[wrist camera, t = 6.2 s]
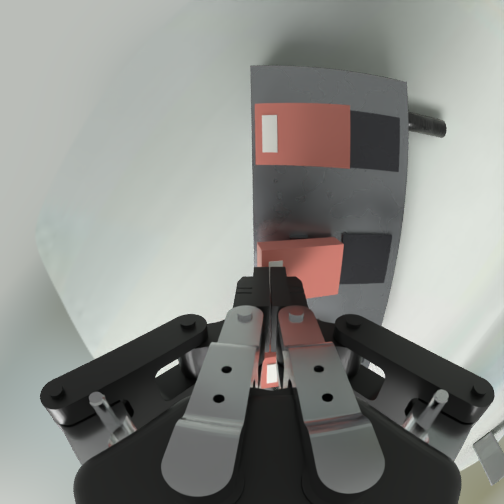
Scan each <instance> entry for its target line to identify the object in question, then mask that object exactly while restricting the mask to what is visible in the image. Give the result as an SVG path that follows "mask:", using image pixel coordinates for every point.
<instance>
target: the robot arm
mask: <svg viewBox="0 0 504 504" xmlns="http://www.w3.org/2000/svg"><path fill="white" fill-rule="evenodd" d="M270 332H271V352H276V371H277V378H278V384H279V390H272V391H271V390H265V389H260V387H261V379H262V371H263V361H264V359H265V352H269V345H270ZM362 358H364V359H366V360H368V361H369V362H371V363H373V364H375V365H376V366H378V367H380V368H381V369H382V370H383V371H384V373H385V378H383V377H381V376H380V375H378V374H376V373H375V372H373V371H371V370H370V369H368V368H366V367H365V366H363V365H362V364H361V361H362ZM176 359H178V361H179V364H178V365H176V366H174V367H173V368H171V369H170V370H168V371H166V372H165V373H163V374H161V375H160V376H158V377H156V378H155V376H156V374H157V372H158V371H159V370H160V369H161V368H163V367H164V366H166V365H168V364H169V363H171V362H173V361H174V360H176ZM40 399H41V402H42V404H43V406H44V407H45V408H46V409H47V411H48V412H49V413H50V415H51V416H52V418H53V420H54V421H55V422H56V424H57V425H58V426H59V427H60V429H61V430H62V431H63V432H64V434H65V436H66V437H67V439H68V441H69V443H70V445H71V447H72V449H73V451H74V453H75V454H76V456H77V458H78V460H79V461H80V463H81V464H82V466H81V467H80V469H79V470H78V472H77V474H76V477H75V481H74V497H75V502H76V504H458V500H459V496H460V491H461V475H460V472H459V469H458V467H457V465H456V464H455V463H454V460H455V459H456V457H457V455H458V453H459V451H460V450H461V448H462V446H463V444H464V442H465V440H466V438H467V436H468V434H469V432H470V429H471V428H472V427H473V426H474V425H475V423H476V422H477V421H478V420H479V418H480V417H481V416H482V415H483V413H484V412H485V411H486V410H487V408H488V407H489V406H490V404H491V403H492V402H493V400H494V390H493V387H492V386H491V384H490V383H489V382H488V381H487V380H485V379H483V378H481V377H479V376H477V375H475V374H474V373H472V372H470V371H468V370H466V369H464V368H462V367H460V366H458V365H456V364H454V363H452V362H450V361H448V360H446V359H444V358H442V357H440V356H438V355H436V354H434V353H432V352H430V351H428V350H426V349H424V348H423V347H421V346H419V345H417V344H415V343H413V342H411V341H409V340H407V339H405V338H403V337H401V336H399V335H397V334H395V333H393V332H391V331H389V330H388V329H386V328H384V327H382V326H380V325H378V324H376V323H374V322H372V321H370V320H368V319H366V318H364V317H362V316H360V315H356V314H345V315H342V316H340V317H338V318H337V319H336V321H335V323H329V322H324V321H321V320H318V319H316V317H315V315H314V313H313V311H312V310H310V309H309V308H308V304H307V300H306V296H305V293H304V288H303V284H302V281H301V280H300V279H298V278H297V277H296V276H288V277H287V274H286V268H285V267H270V281H269V267H254V273H253V277H242V278H241V279H240V280H239V281H238V283H237V289H236V294H235V299H234V305H233V308H232V309H231V310H230V311H229V312H228V313H227V315H226V318H225V320H223V321H220V322H216V323H210V324H207V322H206V320H205V319H204V318H203V317H202V316H199V315H195V314H187V315H182V316H179V317H177V318H175V319H173V320H171V321H169V322H167V323H165V324H163V325H162V326H160V327H158V328H156V329H154V330H152V331H150V332H148V333H146V334H144V335H142V336H140V337H138V338H136V339H134V340H132V341H130V342H128V343H127V344H125V345H123V346H121V347H119V348H117V349H115V350H113V351H111V352H109V353H107V354H105V355H103V356H101V357H99V358H97V359H95V360H93V361H91V362H89V363H87V364H84V365H82V366H80V367H78V368H76V369H74V370H72V371H70V372H68V373H66V374H64V375H62V376H60V377H58V378H56V379H53V380H52V381H50V382H48V383H47V384H46V385H45V386H44V387H43V389H42V391H41V394H40Z"/></svg>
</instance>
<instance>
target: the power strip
mask: <svg viewBox="0 0 504 504" xmlns="http://www.w3.org/2000/svg"><path fill="white" fill-rule="evenodd" d="M261 103H322V104H340V105H350V169H347V168H333V167H316V166H294V165H256V150H255V104H261ZM251 114H252V169H253V226H254V267H257V242H269V241H283V240H297V239H312V238H327V237H335V238H336V239H338V240H339V241H340V242H342V243H343V244H344V248H343V257H342V266H341V274H340V282H339V289H338V294H335V295H329V296H322V297H314V298H307V299H306V300H307V304H308V308H309V309H310V310H312V311H313V313H314V315H315V317H316V319H318V320H321V321H324V322H329V323H335V321H336V319H337V318H338V317H340V316H342V315H345V314H356V315H360V316H362V317H364V318H366V319H368V320H370V321H372V322H374V323H376V324H378V325H380V326H381V325H382V321H383V317H384V313H385V310H386V306H387V302H388V297H389V293H390V289H391V284H392V280H393V275H394V270H395V265H396V259H397V254H398V248H399V242H400V235H401V228H402V221H403V213H404V204H405V194H406V182H407V166H408V131H412V132H418V133H422V134H427V135H432V136H436V137H440V138H443V137H444V136H445V134H446V124H445V122H444V121H443V120H439V119H436V118H432V117H428V116H424V115H420V114H415V113H411V112H408V97H407V82H404V81H399V80H395V79H391V78H386V77H381V76H376V75H371V74H365V73H359V72H352V71H345V70H337V69H328V68H317V67H303V66H273V65H263V66H251ZM270 345H271V332H270ZM361 364H362V365H363V366H365V367H366V368H368V367H369V364H370V362H369V361H368V360H366V359H364V358H362V361H361Z"/></svg>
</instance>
